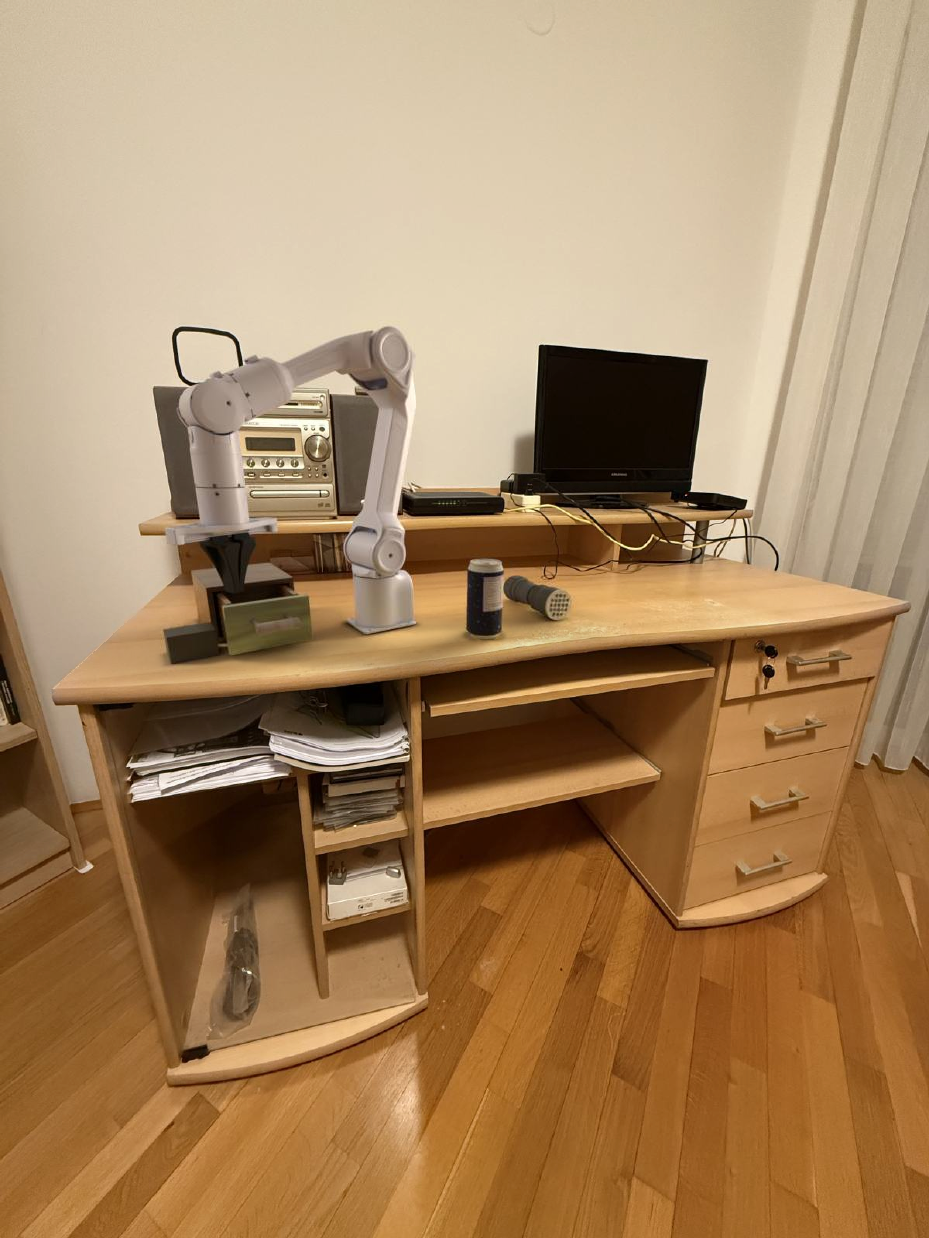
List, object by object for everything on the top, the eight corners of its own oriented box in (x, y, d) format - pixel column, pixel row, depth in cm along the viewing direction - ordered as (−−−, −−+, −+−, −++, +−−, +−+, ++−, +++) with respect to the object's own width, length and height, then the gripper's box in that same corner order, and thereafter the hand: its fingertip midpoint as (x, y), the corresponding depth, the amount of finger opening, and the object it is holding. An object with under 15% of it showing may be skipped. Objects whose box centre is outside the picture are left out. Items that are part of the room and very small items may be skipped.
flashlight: (499, 600, 99) (500, 574, 97) (522, 597, 101) (523, 571, 99) (546, 621, 86) (548, 592, 84) (570, 617, 88) (572, 588, 87)
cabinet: (298, 628, 80) (293, 577, 78) (214, 643, 73) (205, 587, 71) (274, 608, 91) (269, 562, 88) (198, 619, 84) (190, 570, 81)
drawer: (323, 648, 70) (320, 603, 67) (238, 666, 63) (231, 616, 61) (286, 617, 83) (282, 578, 81) (212, 630, 76) (206, 587, 74)
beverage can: (499, 629, 82) (502, 558, 78) (503, 641, 76) (506, 565, 73) (465, 628, 82) (466, 557, 78) (466, 640, 76) (468, 565, 72)
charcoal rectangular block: (214, 646, 72) (210, 621, 71) (219, 654, 69) (216, 629, 68) (167, 654, 69) (162, 629, 68) (171, 664, 66) (166, 637, 65)
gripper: (250, 484, 70) (260, 577, 74) (143, 487, 58) (163, 598, 62) (284, 486, 66) (293, 583, 70) (178, 490, 54) (196, 607, 58)
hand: (234, 591), depth 66 cm, fingers closed
